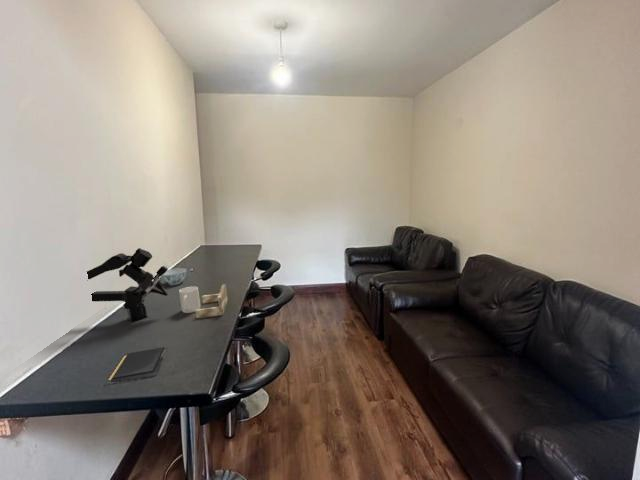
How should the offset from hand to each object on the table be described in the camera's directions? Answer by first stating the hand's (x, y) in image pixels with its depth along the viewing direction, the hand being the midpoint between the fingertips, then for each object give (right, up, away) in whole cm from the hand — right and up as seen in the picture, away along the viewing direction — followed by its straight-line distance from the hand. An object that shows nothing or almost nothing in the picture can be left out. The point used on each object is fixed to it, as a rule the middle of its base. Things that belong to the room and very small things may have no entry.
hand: (167, 295), depth 154 cm
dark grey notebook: (+10, -17, -43) cm, 47 cm away
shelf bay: (+19, -7, +5) cm, 20 cm away
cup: (+9, -8, +3) cm, 13 cm away
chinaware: (-19, -2, +53) cm, 56 cm away
